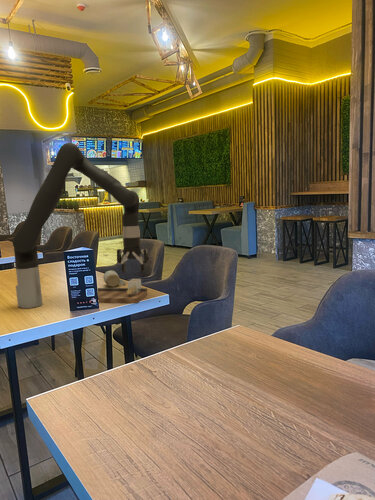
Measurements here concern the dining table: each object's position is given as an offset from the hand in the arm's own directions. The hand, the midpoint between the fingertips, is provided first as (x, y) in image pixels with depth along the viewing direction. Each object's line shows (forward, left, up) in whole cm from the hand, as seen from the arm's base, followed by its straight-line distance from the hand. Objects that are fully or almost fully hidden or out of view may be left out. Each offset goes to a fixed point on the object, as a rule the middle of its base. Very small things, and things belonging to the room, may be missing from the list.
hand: (133, 272), depth 173 cm
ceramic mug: (-20, +23, -12) cm, 33 cm away
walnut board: (-8, -2, -12) cm, 14 cm away
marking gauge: (0, -2, -10) cm, 10 cm away
